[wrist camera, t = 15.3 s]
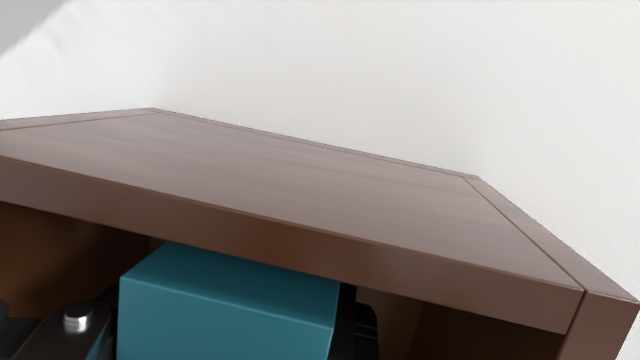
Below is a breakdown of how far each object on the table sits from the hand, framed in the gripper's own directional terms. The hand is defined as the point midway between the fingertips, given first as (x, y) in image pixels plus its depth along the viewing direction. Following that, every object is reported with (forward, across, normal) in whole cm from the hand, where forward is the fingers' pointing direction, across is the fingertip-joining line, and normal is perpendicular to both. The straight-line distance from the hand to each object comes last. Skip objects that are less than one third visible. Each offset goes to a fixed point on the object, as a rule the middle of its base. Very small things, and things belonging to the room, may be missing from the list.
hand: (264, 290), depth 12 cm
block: (0, 0, 0) cm, 0 cm away
